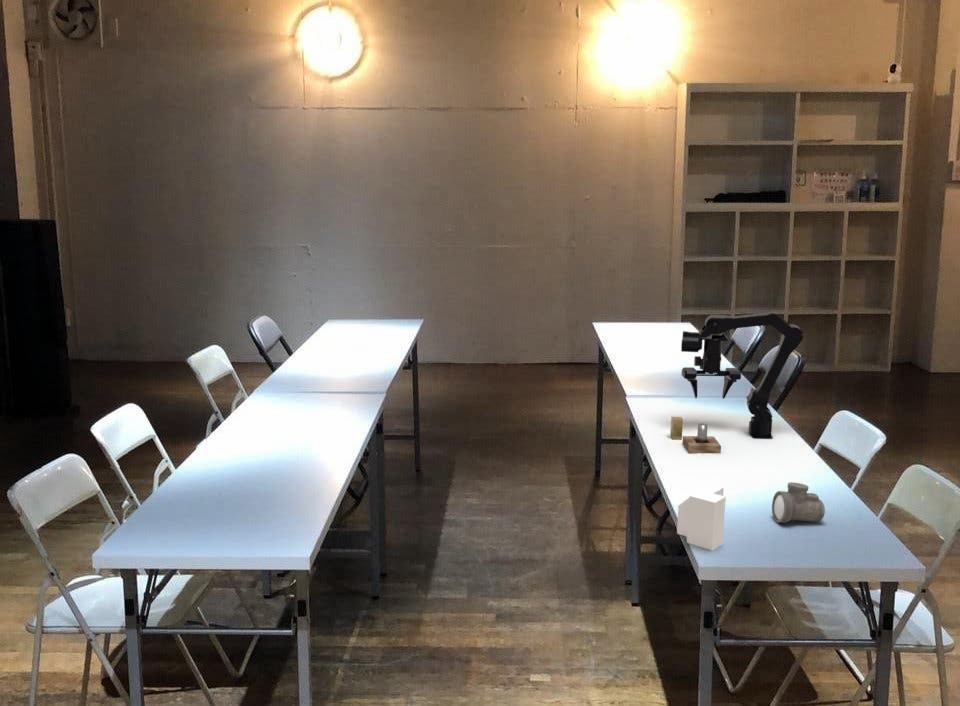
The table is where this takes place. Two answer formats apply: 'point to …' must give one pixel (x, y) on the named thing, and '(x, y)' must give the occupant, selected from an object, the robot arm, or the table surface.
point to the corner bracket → (703, 517)
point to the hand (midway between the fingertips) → (709, 398)
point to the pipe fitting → (797, 505)
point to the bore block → (701, 445)
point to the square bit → (676, 428)
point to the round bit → (702, 433)
